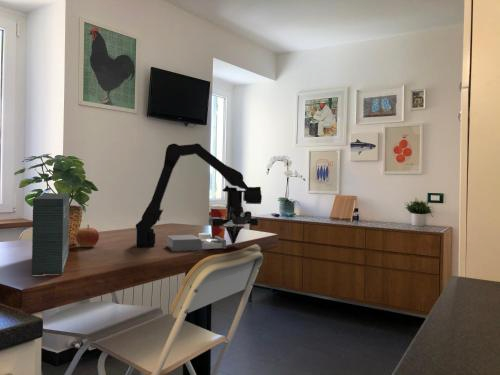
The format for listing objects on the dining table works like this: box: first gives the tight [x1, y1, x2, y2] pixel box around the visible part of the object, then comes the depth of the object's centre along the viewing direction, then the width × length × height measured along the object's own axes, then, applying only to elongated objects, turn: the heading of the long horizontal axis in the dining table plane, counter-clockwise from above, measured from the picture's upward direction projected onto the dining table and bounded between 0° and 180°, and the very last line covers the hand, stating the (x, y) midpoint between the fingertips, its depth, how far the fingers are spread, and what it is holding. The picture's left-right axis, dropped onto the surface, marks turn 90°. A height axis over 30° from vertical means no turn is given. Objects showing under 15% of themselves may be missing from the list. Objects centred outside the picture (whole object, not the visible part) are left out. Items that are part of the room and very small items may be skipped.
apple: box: [74, 224, 100, 248], centre depth 146 cm, size 8×8×8 cm
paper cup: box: [210, 204, 227, 239], centre depth 179 cm, size 8×8×14 cm
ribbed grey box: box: [31, 192, 70, 276], centre depth 117 cm, size 29×7×20 cm, turn 21°
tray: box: [202, 236, 227, 250], centre depth 153 cm, size 11×11×3 cm
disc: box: [201, 238, 218, 244], centre depth 153 cm, size 7×7×2 cm
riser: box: [198, 232, 212, 239], centre depth 163 cm, size 4×4×4 cm
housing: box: [166, 234, 203, 252], centre depth 149 cm, size 10×11×4 cm
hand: (233, 243), depth 157 cm, fingers closed
